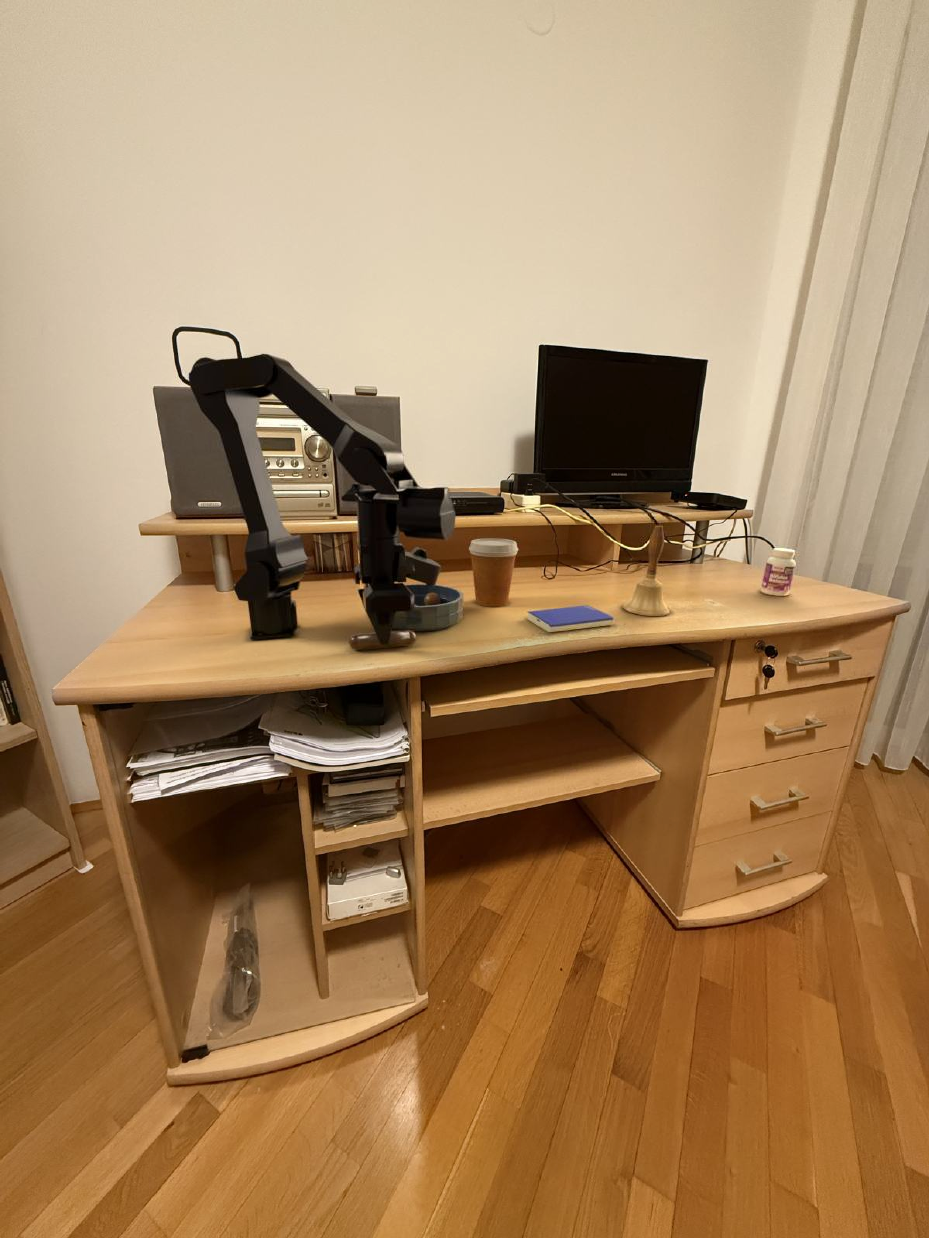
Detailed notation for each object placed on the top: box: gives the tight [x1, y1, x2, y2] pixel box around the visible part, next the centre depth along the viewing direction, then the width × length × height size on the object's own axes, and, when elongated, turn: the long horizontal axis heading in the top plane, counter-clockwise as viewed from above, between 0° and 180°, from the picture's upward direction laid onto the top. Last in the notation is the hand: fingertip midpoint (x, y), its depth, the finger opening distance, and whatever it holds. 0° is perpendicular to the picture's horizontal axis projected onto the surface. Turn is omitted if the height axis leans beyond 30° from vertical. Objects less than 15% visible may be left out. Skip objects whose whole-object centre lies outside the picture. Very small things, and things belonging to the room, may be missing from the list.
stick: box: [348, 630, 418, 651], centre depth 73 cm, size 10×2×2 cm, turn 107°
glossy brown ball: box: [424, 593, 441, 606], centre depth 89 cm, size 3×3×3 cm
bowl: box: [392, 583, 464, 632], centre depth 85 cm, size 15×15×4 cm
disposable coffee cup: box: [468, 537, 520, 608], centre depth 95 cm, size 10×10×12 cm
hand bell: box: [622, 525, 670, 617], centre depth 91 cm, size 8×8×16 cm
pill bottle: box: [760, 547, 797, 597], centre depth 106 cm, size 5×5×10 cm
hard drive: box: [526, 604, 614, 633], centre depth 86 cm, size 2×8×12 cm
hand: (383, 641), depth 73 cm, fingers closed on stick, 2 cm apart
